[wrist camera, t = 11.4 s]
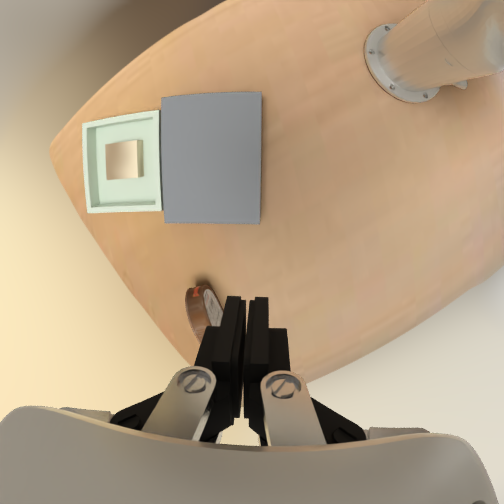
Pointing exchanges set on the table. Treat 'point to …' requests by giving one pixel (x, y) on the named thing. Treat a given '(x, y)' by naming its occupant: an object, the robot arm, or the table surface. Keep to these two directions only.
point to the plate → (212, 157)
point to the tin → (202, 309)
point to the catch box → (131, 189)
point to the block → (124, 160)
